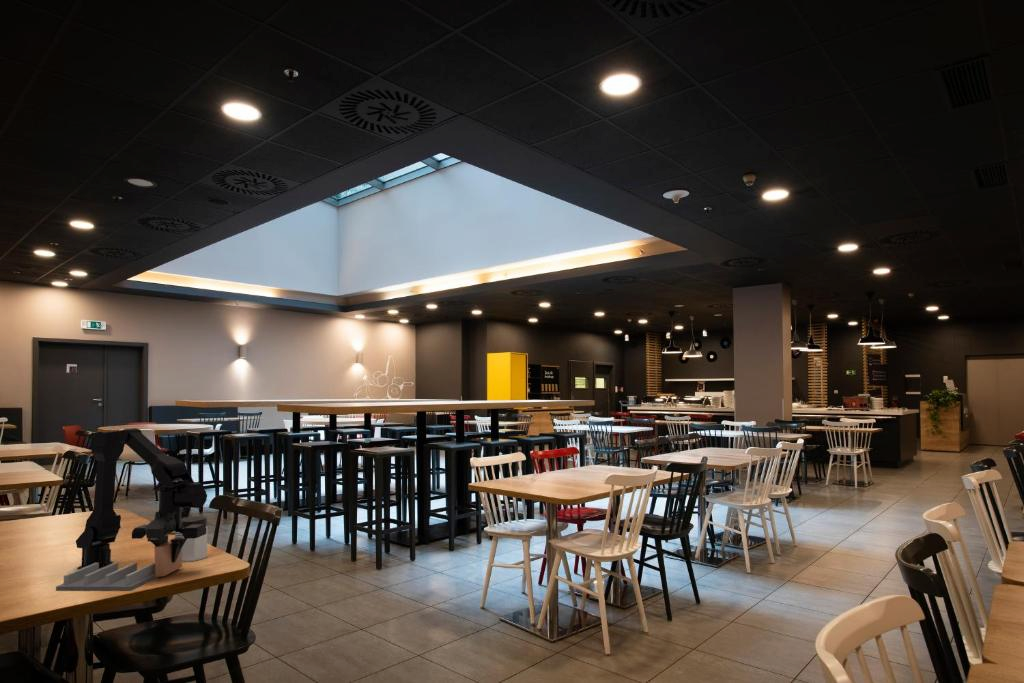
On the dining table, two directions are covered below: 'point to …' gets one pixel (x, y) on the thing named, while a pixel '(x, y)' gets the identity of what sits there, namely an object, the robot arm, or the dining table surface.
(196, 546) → the jar
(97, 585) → the rack
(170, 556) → the brown flat rectangular slab
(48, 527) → the dining table surface
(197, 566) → the dining table surface
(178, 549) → the robot arm
